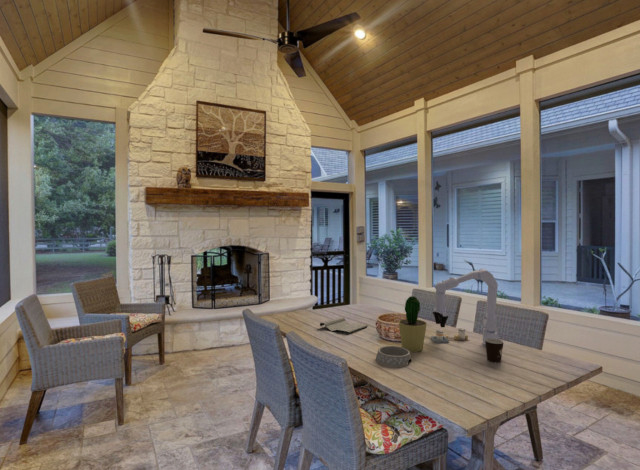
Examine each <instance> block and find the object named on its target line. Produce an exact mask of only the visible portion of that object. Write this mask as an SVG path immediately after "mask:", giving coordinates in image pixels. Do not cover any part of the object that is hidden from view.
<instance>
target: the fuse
mask: <svg viewBox="0 0 640 470" xmlns="http://www.w3.org/2000/svg"><path fill="white" fill-rule="evenodd" d="M457 329H458V331H457V333H458V334H457V335H458V336H459V340H465V335H466V328H463V327H462V328H461V327H459V328H457Z"/></svg>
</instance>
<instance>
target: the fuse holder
mask: <svg viewBox="0 0 640 470" xmlns="http://www.w3.org/2000/svg"><path fill="white" fill-rule="evenodd" d="M444 337H446V338H447V339H448V340H449V342H470V341H471V340H470V339H469V336H468V334H465V340H459V336H458V334H454V336H452V337H449V335H447V334H445V335H444Z"/></svg>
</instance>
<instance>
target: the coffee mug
mask: <svg viewBox="0 0 640 470" xmlns="http://www.w3.org/2000/svg"><path fill="white" fill-rule="evenodd" d="M485 343H486V345H485V351H486V353H485V354H486V360H487V361H488V362H490V363H495V362H496V363H498V362H499V363H501V362H502V355H503V349H504V343H505V342H504V340H502V339H499V340H498V339H485Z"/></svg>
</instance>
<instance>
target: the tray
mask: <svg viewBox="0 0 640 470" xmlns="http://www.w3.org/2000/svg"><path fill="white" fill-rule="evenodd" d="M430 340H431V341H433V342H434V343H435V344H448V343H449V344H450V341H449V340H448V339H447V338H446V337H445V335H443V340H436V335H432V336H430Z"/></svg>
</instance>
